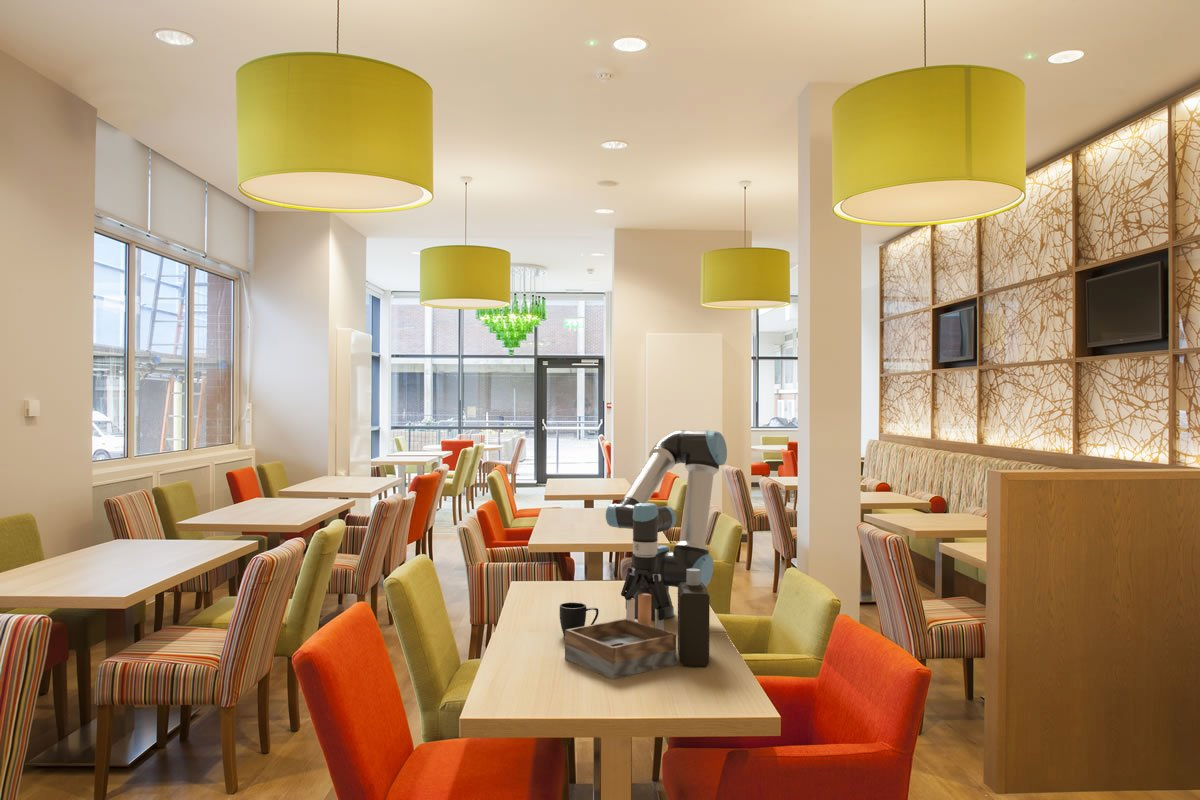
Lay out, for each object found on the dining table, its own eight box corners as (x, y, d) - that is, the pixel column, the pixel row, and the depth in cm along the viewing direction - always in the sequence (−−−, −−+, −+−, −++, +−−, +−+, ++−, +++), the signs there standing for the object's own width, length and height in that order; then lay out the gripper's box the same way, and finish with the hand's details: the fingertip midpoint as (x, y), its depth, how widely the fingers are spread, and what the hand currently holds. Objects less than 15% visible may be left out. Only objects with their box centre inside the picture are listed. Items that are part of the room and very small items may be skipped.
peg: (645, 639, 251) (645, 593, 251) (653, 642, 248) (654, 595, 248) (635, 641, 249) (635, 594, 249) (643, 644, 245) (643, 597, 246)
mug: (596, 641, 249) (596, 609, 249) (557, 639, 250) (557, 607, 250) (599, 633, 257) (600, 603, 257) (561, 632, 258) (562, 601, 258)
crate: (626, 645, 244) (626, 618, 244) (675, 664, 226) (676, 634, 226) (564, 658, 231) (565, 629, 231) (612, 679, 213) (612, 648, 213)
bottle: (680, 667, 224) (680, 575, 224) (677, 650, 240) (677, 564, 240) (709, 668, 223) (710, 575, 223) (704, 650, 239) (705, 564, 239)
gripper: (610, 550, 256) (609, 618, 256) (662, 562, 236) (662, 636, 236) (629, 548, 261) (628, 615, 261) (682, 559, 241) (681, 632, 240)
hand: (644, 625), depth 248 cm, fingers open, 13 cm apart
